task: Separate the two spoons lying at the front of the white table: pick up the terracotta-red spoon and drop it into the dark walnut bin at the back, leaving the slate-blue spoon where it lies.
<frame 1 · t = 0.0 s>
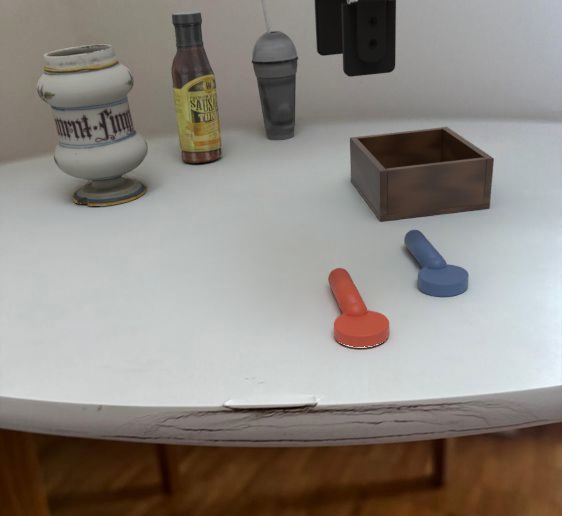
hand: (352, 62, 47), 20 cm above the table, tool pointing down, fingers open, 9 cm apart
blue spoon: (430, 270, 65), on the table
bin: (415, 194, 84), on the table
apothecary jar: (110, 196, 94), on the table
sauce bottle: (203, 160, 105), on the table
red spoon: (352, 315, 59), on the table
beverage cup: (280, 137, 114), on the table
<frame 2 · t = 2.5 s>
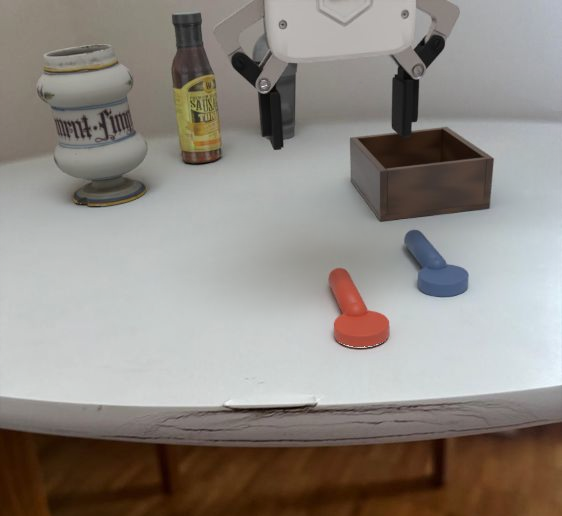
hand: (339, 139, 53), 14 cm above the table, tool pointing down, fingers open, 9 cm apart
nothing on the table moved.
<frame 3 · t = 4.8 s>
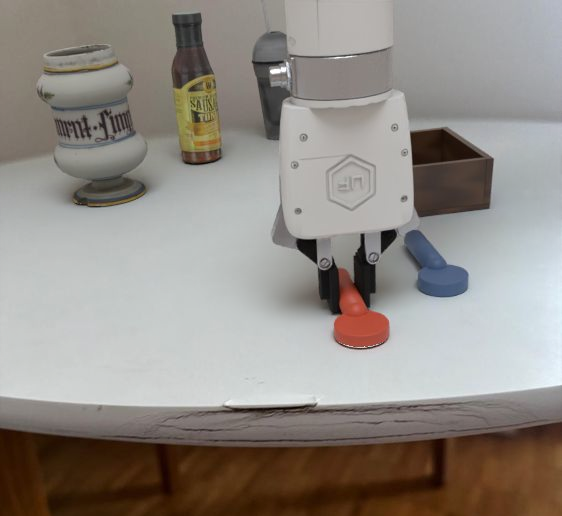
hand: (347, 302, 60), 0 cm above the table, tool pointing down, fingers closed on red spoon, 2 cm apart
red spoon: (352, 315, 59), on the table, touching gripper
everything else where it was.
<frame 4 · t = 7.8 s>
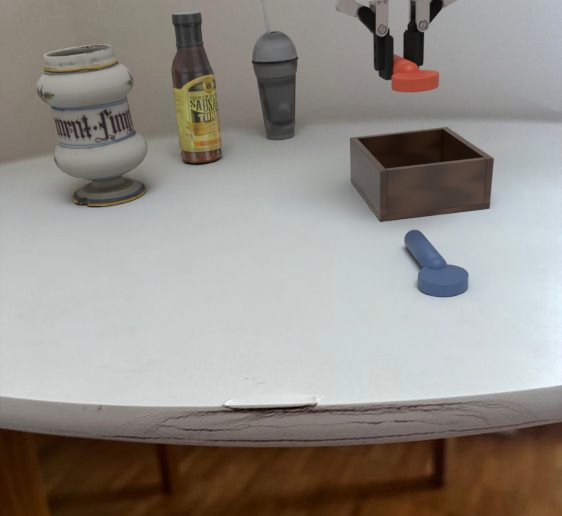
hand: (398, 75, 70), 15 cm above the table, tool pointing down, fingers closed on red spoon
red spoon: (404, 81, 68), point 15 cm above the table, touching gripper
everything else where it was.
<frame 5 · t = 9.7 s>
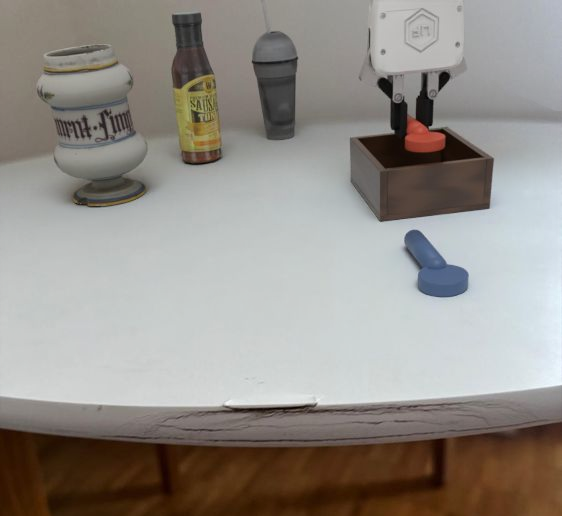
hand: (411, 133, 82), 7 cm above the table, tool pointing down, fingers closed on red spoon
red spoon: (415, 140, 81), point 6 cm above the table, touching gripper
everything else where it was.
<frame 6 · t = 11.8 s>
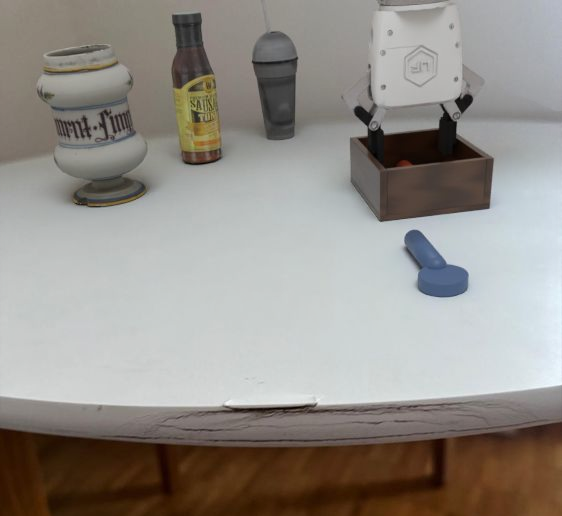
hand: (411, 157, 84), 4 cm above the table, tool pointing down, fingers open, 7 cm apart
red spoon: (415, 188, 84), point 1 cm above the table, touching bin
everything else where it was.
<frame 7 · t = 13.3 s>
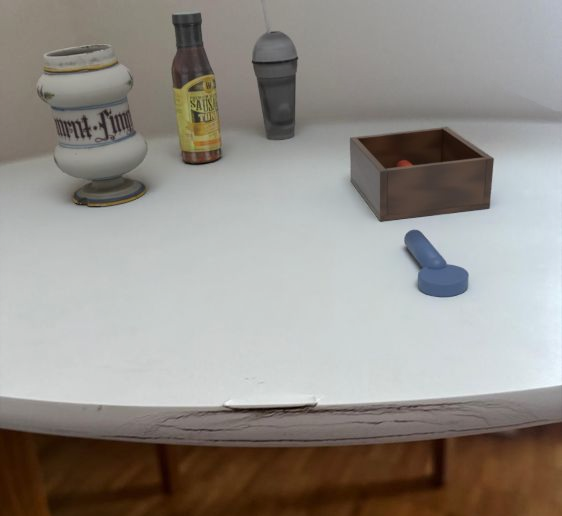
nothing on the table moved.
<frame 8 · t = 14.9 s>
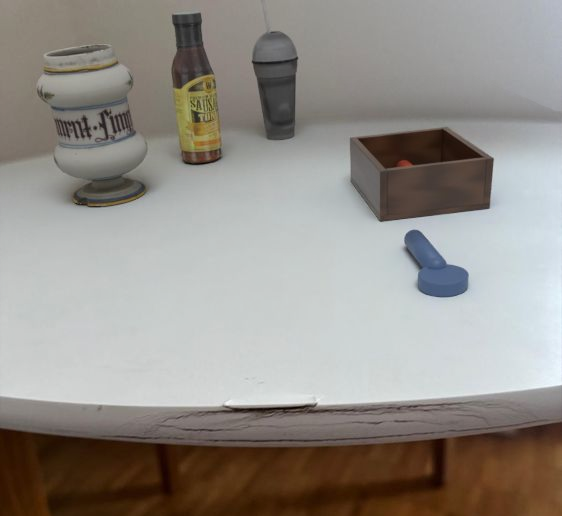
nothing on the table moved.
at the end: red spoon inside the target area in the bin (0.1 cm from its centre), point 0.6 cm above the bin's base; blue spoon moved 0.0 cm from its start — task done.
